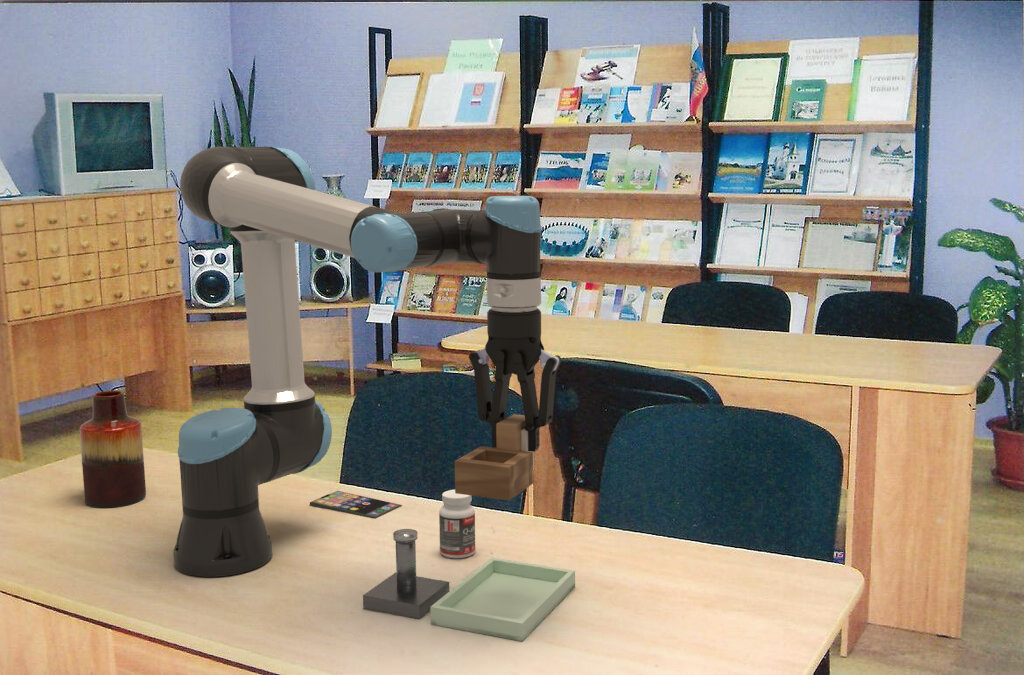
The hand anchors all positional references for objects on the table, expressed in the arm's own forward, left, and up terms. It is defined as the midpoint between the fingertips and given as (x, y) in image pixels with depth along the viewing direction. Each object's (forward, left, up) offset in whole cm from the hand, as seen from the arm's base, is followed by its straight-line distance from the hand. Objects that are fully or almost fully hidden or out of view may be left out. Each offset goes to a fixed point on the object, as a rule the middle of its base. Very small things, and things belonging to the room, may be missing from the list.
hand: (515, 470), depth 151 cm
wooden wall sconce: (0, -4, -1) cm, 4 cm away
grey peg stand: (-14, -8, -19) cm, 24 cm away
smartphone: (-44, +26, -19) cm, 54 cm away
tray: (0, -4, -19) cm, 19 cm away
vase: (-88, +12, -19) cm, 90 cm away
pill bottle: (-16, +12, -19) cm, 27 cm away
